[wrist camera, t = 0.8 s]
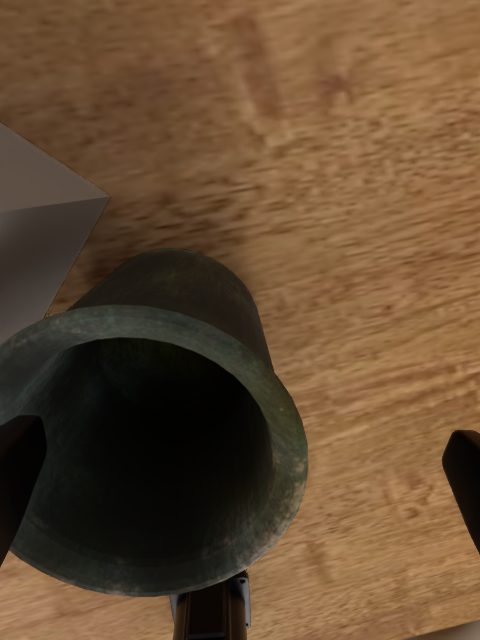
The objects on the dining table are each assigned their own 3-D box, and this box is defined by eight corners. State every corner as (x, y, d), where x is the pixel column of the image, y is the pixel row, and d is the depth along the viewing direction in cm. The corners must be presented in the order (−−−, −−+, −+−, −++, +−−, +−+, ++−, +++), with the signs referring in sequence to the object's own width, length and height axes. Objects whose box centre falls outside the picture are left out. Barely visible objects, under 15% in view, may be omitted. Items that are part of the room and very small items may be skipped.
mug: (250, 222, 21) (285, 273, 9) (284, 434, 26) (333, 630, 15) (60, 257, 21) (-129, 349, 10) (132, 460, 26) (64, 674, 15)
